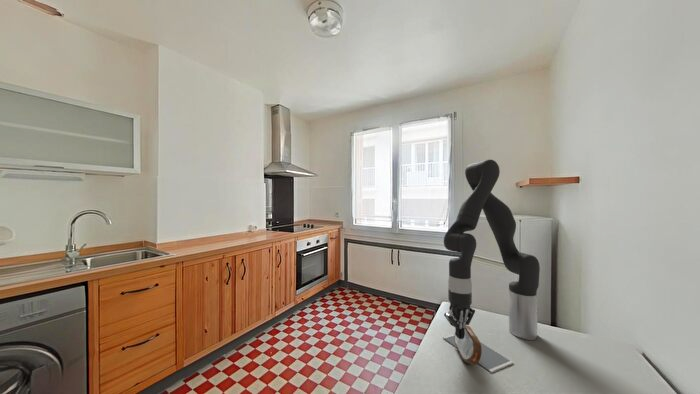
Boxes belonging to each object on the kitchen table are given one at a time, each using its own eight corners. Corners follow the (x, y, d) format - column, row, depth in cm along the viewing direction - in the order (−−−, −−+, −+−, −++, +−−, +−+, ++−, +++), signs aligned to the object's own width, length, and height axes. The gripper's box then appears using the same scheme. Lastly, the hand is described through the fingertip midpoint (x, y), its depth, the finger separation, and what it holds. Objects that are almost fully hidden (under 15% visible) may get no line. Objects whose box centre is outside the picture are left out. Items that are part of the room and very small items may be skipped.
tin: (474, 371, 75) (487, 349, 74) (465, 366, 75) (477, 344, 74) (457, 340, 90) (468, 322, 89) (450, 336, 90) (460, 318, 89)
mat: (463, 332, 97) (463, 331, 97) (513, 363, 78) (513, 362, 78) (443, 338, 93) (443, 337, 93) (491, 373, 74) (491, 371, 74)
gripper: (464, 282, 89) (464, 328, 89) (437, 287, 84) (437, 336, 83) (482, 289, 82) (482, 339, 82) (454, 295, 77) (454, 348, 76)
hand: (460, 337), depth 83 cm, fingers closed
